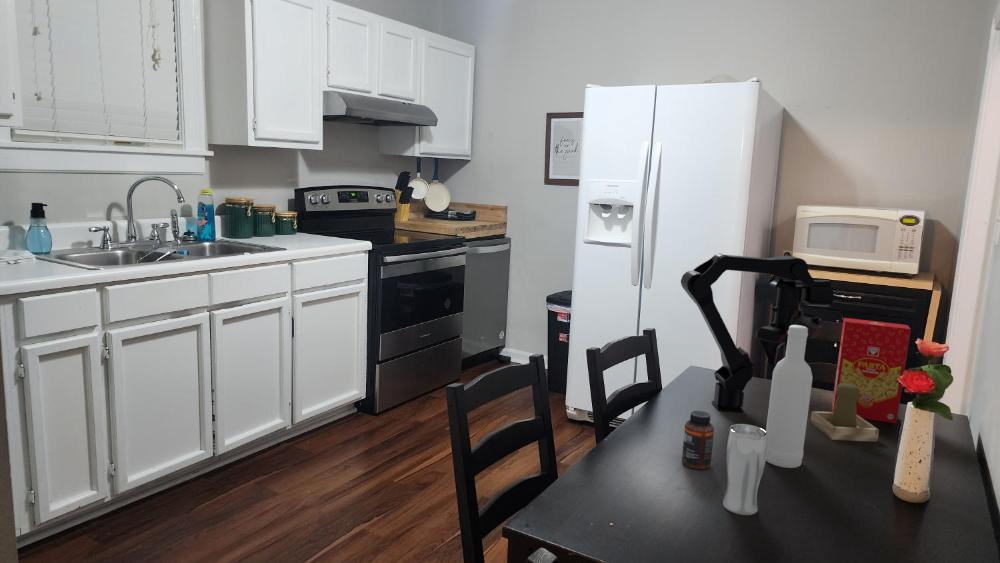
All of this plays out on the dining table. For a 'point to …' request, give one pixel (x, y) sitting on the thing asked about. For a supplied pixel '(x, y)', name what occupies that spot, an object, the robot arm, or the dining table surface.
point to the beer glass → (744, 467)
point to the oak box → (844, 428)
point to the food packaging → (873, 366)
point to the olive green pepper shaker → (845, 406)
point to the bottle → (789, 403)
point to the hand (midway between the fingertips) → (781, 362)
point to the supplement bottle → (698, 441)
